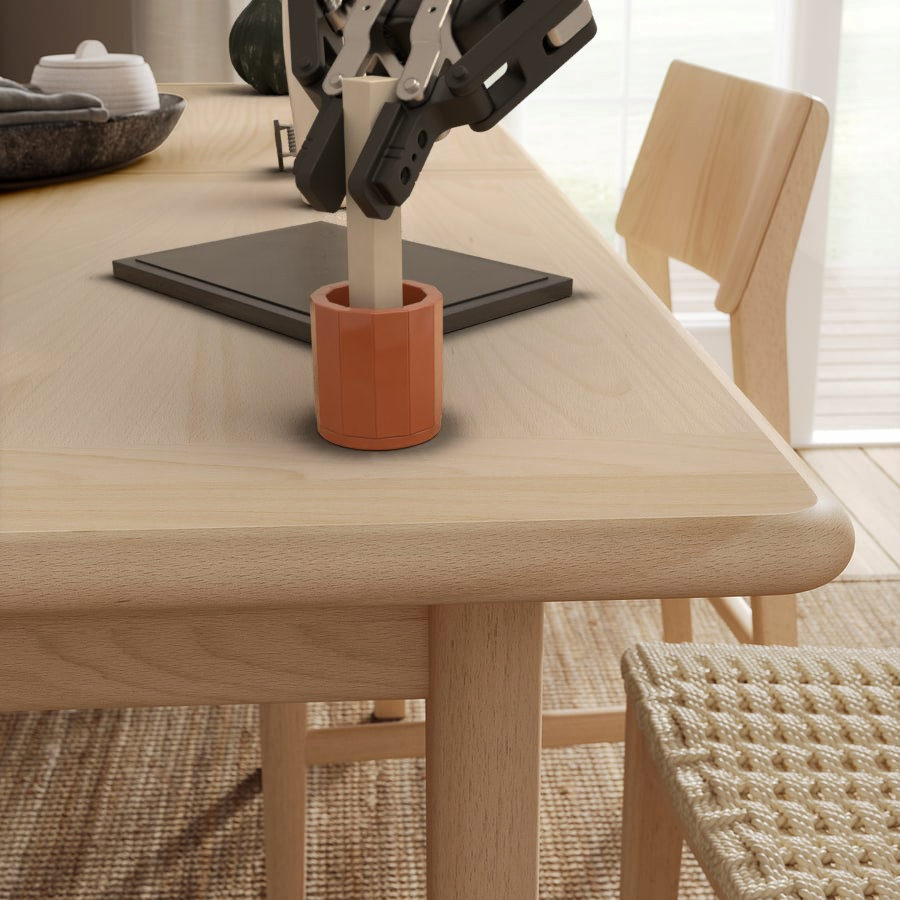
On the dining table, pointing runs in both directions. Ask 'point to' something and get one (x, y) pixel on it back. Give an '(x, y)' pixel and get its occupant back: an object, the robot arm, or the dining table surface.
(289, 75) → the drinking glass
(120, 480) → the dining table surface
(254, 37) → the squash
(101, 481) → the dining table surface
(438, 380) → the pen pot
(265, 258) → the tablet
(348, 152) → the stylus
